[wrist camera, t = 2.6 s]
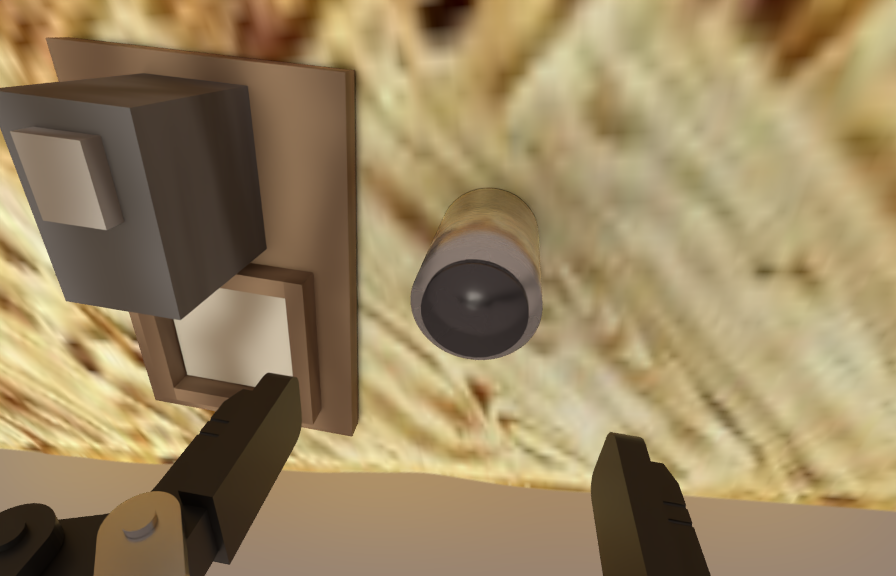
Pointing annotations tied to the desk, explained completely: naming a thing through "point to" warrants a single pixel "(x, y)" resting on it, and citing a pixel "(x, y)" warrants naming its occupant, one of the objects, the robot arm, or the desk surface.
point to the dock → (291, 219)
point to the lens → (481, 277)
